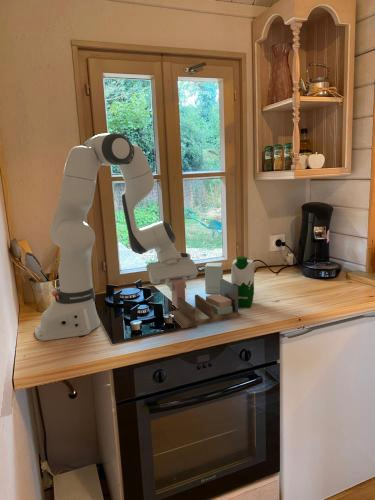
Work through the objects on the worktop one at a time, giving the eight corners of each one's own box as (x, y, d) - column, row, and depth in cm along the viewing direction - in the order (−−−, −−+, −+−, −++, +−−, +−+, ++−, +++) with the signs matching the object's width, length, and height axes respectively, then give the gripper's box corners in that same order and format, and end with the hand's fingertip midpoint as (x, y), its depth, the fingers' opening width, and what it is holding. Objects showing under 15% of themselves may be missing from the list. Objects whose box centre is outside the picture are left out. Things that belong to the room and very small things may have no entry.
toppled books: (217, 315, 139) (217, 303, 138) (205, 306, 148) (205, 295, 147) (233, 312, 141) (233, 300, 140) (220, 304, 151) (220, 293, 150)
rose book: (177, 310, 150) (176, 283, 148) (172, 305, 155) (170, 279, 153) (185, 308, 151) (184, 282, 149) (180, 304, 157) (179, 278, 155)
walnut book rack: (182, 328, 132) (181, 310, 131) (168, 315, 145) (168, 299, 143) (240, 316, 140) (240, 300, 139) (222, 305, 153) (222, 290, 152)
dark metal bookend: (235, 312, 140) (235, 287, 139) (220, 303, 151) (219, 279, 149) (238, 312, 141) (238, 286, 139) (223, 302, 152) (222, 278, 150)
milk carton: (230, 308, 150) (229, 258, 146) (233, 300, 159) (233, 253, 155) (252, 309, 148) (252, 259, 144) (255, 301, 156) (254, 254, 152)
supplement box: (221, 294, 168) (221, 266, 166) (205, 293, 170) (204, 266, 167) (223, 289, 175) (222, 262, 173) (207, 288, 177) (206, 262, 174)
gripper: (146, 258, 152) (155, 288, 145) (193, 253, 160) (203, 281, 153) (143, 267, 157) (152, 296, 150) (189, 261, 164) (199, 289, 157)
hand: (178, 288), depth 151 cm, fingers open, 4 cm apart
